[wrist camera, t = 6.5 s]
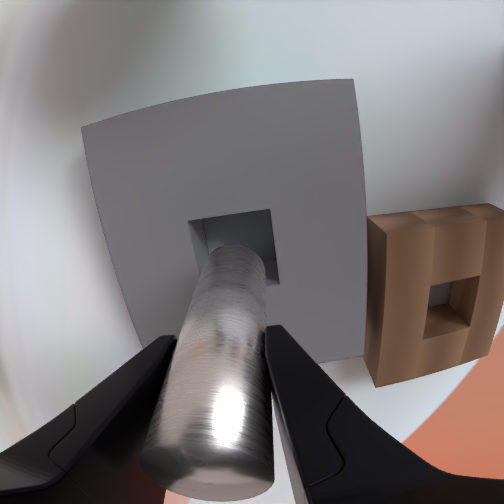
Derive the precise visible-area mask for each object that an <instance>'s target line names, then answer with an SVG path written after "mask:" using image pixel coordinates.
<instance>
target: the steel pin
mask: <svg viewBox="0 0 504 504" xmlns="http://www.w3.org/2000/svg"><path fill="white" fill-rule="evenodd" d="M267 326H268V313H267V293H266V275H265V266H264V263H263V261H262V259H261V258H260V257H259V255H258V254H257V253H256V252H254V251H253V250H252V249H250V248H248V247H246V246H243V245H238V244H229V245H224V246H221V247H219V248H217V249H216V250H214V251H213V252H212V253H211V254H210V255H209V256H208V258H207V260H206V262H205V264H204V267H203V270H202V272H201V275H200V278H199V281H198V283H197V286H196V289H195V292H194V294H193V297H192V300H191V303H190V306H189V309H188V311H187V314H186V317H185V320H184V323H183V326H182V329H181V331H180V334H179V337H178V340H177V343H176V346H175V349H174V352H173V355H172V358H171V361H170V364H169V367H168V370H167V373H166V376H165V379H164V382H163V385H162V388H161V391H160V394H159V397H158V401H157V404H156V407H155V410H154V413H153V416H152V420H151V423H150V426H149V429H148V433H147V436H146V439H145V442H144V446H143V449H142V453H141V456H140V461H139V463H140V467H141V469H142V471H143V472H144V473H145V474H146V476H147V477H148V478H150V479H151V480H152V481H153V482H155V483H156V484H158V485H159V486H161V487H163V488H165V489H167V490H169V491H171V492H174V493H177V494H180V495H183V496H186V497H190V498H194V499H199V500H206V501H238V500H244V499H249V498H252V497H255V496H258V495H260V494H262V493H264V492H265V491H267V490H268V489H269V488H270V487H271V486H272V485H273V483H274V479H275V478H274V450H273V423H272V399H271V385H270V380H269V374H268V368H267V362H266V356H265V328H266V327H267Z"/></svg>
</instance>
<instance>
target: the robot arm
mask: <svg viewBox="0 0 504 504" xmlns="http://www.w3.org/2000/svg"><path fill="white" fill-rule="evenodd" d="M177 340H178V339H177V337H176V336H175V335H161V336H159V337H158V338H157V339H155V340H154V341H153V342H152V343H150V344H149V345H148V346H147V347H145V348H144V349H143V350H142V351H140V352H139V353H138V354H136V355H135V356H134V357H133V358H131V359H130V360H129V361H128V362H126V363H125V364H124V365H122V366H121V367H120V368H119V369H117V370H116V371H115V372H113V373H112V374H111V375H110V376H108V377H107V378H106V379H105V380H103V381H102V382H101V383H99V384H98V385H97V386H96V387H94V388H93V389H92V390H90V391H89V392H88V393H87V394H85V395H84V396H83V397H81V398H80V399H79V400H78V401H76V402H75V404H72V405H71V406H70V407H68V408H67V409H66V410H65V411H63V412H62V413H61V414H59V415H58V416H57V417H55V418H54V419H53V420H51V421H50V422H48V423H47V424H45V425H44V426H42V427H41V428H39V429H38V430H36V431H35V432H33V433H32V434H30V435H28V436H27V437H25V438H24V439H22V440H20V441H19V442H17V443H16V444H14V445H12V446H11V447H9V448H8V449H6V450H4V451H3V452H1V453H0V504H163V503H164V498H165V492H166V489H165V488H163V487H161V486H159V485H158V484H156V483H155V482H153V481H152V480H151V479H150V478H148V477H147V476H146V474H145V473H144V472H143V471H142V469H141V467H140V463H139V461H140V456H141V453H142V449H143V446H144V442H145V439H146V436H147V433H148V429H149V426H150V423H151V420H152V416H153V413H154V410H155V407H156V404H157V401H158V397H159V394H160V391H161V388H162V385H163V382H164V379H165V376H166V373H167V370H168V367H169V364H170V361H171V358H172V355H173V352H174V349H175V346H176V343H177ZM265 356H266V362H267V368H268V374H269V380H270V385H271V393H272V399H273V405H274V410H275V416H276V420H277V424H278V429H279V433H280V438H281V442H282V447H283V451H284V455H285V460H286V464H287V468H288V473H289V477H290V481H291V486H292V490H293V494H294V499H295V503H296V504H504V479H490V478H479V477H469V476H461V475H454V474H451V473H447V472H445V471H442V470H440V469H438V468H436V467H434V466H432V465H431V464H429V463H428V462H426V461H425V460H423V459H422V458H421V457H419V456H418V455H416V454H415V453H414V452H412V451H411V450H410V449H408V448H407V447H406V446H404V445H403V444H402V443H400V442H399V441H398V440H396V439H395V438H394V437H392V436H391V435H390V434H388V433H387V432H386V431H384V430H383V429H382V428H381V427H380V426H378V425H377V424H376V423H375V422H373V421H372V420H371V419H370V418H369V417H368V416H367V415H366V414H365V413H364V412H363V411H362V410H361V409H359V408H358V407H357V406H356V405H355V403H354V402H353V401H352V400H351V399H350V398H349V397H348V396H346V395H345V393H344V392H343V391H342V390H341V389H340V388H339V387H338V386H337V385H336V383H335V382H334V381H333V380H332V379H331V378H330V377H329V376H328V375H327V374H326V373H325V372H324V371H323V370H322V368H321V367H320V366H319V365H318V364H317V363H316V362H315V361H314V360H313V359H312V358H311V357H310V355H309V354H308V353H307V352H306V351H305V350H304V349H303V348H302V347H301V346H300V345H299V343H298V342H297V341H296V340H295V339H294V338H293V337H292V336H291V335H290V334H289V333H288V331H287V330H286V329H285V328H284V327H283V326H282V325H280V324H279V325H271V326H267V327H266V328H265Z"/></svg>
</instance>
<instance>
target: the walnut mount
mask: <svg viewBox="0 0 504 504" xmlns="http://www.w3.org/2000/svg"><path fill="white" fill-rule="evenodd" d="M447 282H452V284H451V291H450V298H449V303H448V304H444V305H440V306H435V307H431V308H428V301H429V294H430V286H432V285H437V284H442V283H447ZM503 301H504V210H502V209H500V208H498V207H496V206H493V205H491V204H489V203H488V204H478V205H467V206H457V207H447V208H438V209H428V210H419V211H409V212H400V213H391V214H382V215H374V216H367V310H366V331H365V346H364V360H365V363H366V365H367V368H368V370H369V373H370V375H371V378H372V380H373V383H374V385H375V388H377V387H382V386H386V385H390V384H394V383H399V382H403V381H406V380H410V379H414V378H418V377H421V376H425V375H429V374H432V373H435V372H439V371H442V370H445V369H448V368H452V367H455V366H458V365H461V364H464V363H467V362H470V361H472V360H475V359H478V358H481V357H484V356H486V355H488V352H489V350H490V347H491V344H492V341H493V337H494V334H495V331H496V327H497V324H498V320H499V317H500V313H501V309H502V305H503Z"/></svg>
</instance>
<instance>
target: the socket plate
mask: <svg viewBox="0 0 504 504" xmlns="http://www.w3.org/2000/svg"><path fill="white" fill-rule="evenodd" d="M81 131H82V137H83V143H84V148H85V154H86V159H87V164H88V169H89V174H90V178H91V183H92V187H93V192H94V196H95V200H96V205H97V209H98V213H99V217H100V220H101V224H102V228H103V232H104V235H105V239H106V242H107V246H108V249H109V253H110V256H111V259H112V263H113V266H114V269H115V272H116V275H117V278H118V282H119V285H120V288H121V291H122V294H123V296H124V299H125V302H126V305H127V308H128V311H129V313H130V316H131V319H132V322H133V324H134V327H135V329H136V332H137V335H138V337H139V340H140V342H141V345H142V347H143V349H144V348H145V347H147V346H148V345H149V344H150V343H152V342H153V341H154V340H155V339H157V338H158V337H159V336H161V335H175V336H176V337H177V339H178V337H179V334H180V331H181V329H182V326H183V323H184V320H185V317H186V314H187V311H188V309H189V306H190V303H191V300H192V297H193V294H194V292H195V289H196V286H197V283H198V281H199V278H200V275H201V272H202V270H203V267H204V264H205V262H206V260H207V258H208V256H209V252H208V248H207V243H206V238H205V233H204V228H203V223H202V218H209V217H216V216H222V215H229V214H236V213H243V212H250V211H258V210H265V209H270V215H271V222H272V230H273V237H274V245H275V253H276V259H275V260H267V261H263V263H264V266H265V275H266V293H267V313H268V326H271V325H279V324H280V325H282V326H283V327H284V328H285V329H286V330H287V331H288V333H289V334H290V335H291V336H292V337H293V338H294V339H295V340H296V341H297V342H298V343H299V345H300V346H301V347H302V348H303V349H304V350H305V351H306V352H307V353H308V354H309V355H310V357H311V358H312V359H313V360H314V361H315V362H316V363H324V362H330V361H336V360H342V359H348V358H353V357H359V356H364V344H365V327H366V305H367V219H366V196H365V180H364V166H363V154H362V143H361V134H360V125H359V116H358V108H357V101H356V94H355V87H354V80H353V79H331V80H313V81H299V82H288V83H278V84H269V85H261V86H253V87H246V88H239V89H232V90H226V91H220V92H215V93H209V94H204V95H199V96H194V97H189V98H184V99H180V100H175V101H171V102H167V103H163V104H159V105H155V106H151V107H147V108H143V109H139V110H136V111H132V112H129V113H125V114H122V115H118V116H115V117H112V118H109V119H105V120H102V121H99V122H96V123H93V124H90V125H87V126H84V127H82V128H81Z"/></svg>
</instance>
